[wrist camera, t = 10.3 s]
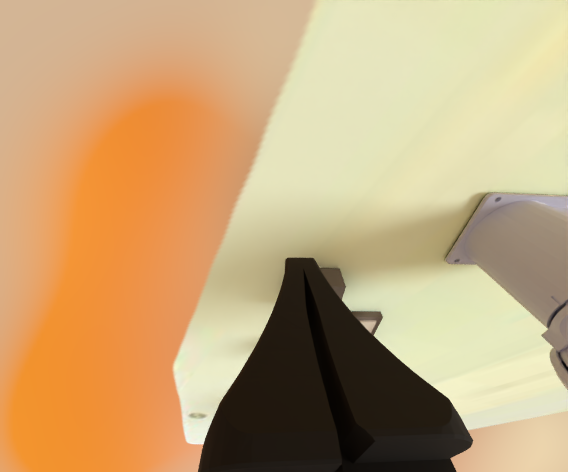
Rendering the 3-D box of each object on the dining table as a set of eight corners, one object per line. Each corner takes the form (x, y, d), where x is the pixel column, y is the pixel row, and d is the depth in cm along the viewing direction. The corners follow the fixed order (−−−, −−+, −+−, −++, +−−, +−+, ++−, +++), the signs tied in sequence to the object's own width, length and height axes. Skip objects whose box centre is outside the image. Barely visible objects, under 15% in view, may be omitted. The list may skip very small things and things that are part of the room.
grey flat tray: (380, 311, 29) (384, 321, 28) (362, 348, 34) (365, 357, 33) (288, 311, 28) (289, 321, 27) (284, 348, 33) (284, 358, 32)
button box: (339, 268, 24) (345, 286, 22) (331, 298, 27) (335, 317, 25) (293, 267, 24) (295, 286, 22) (290, 298, 26) (291, 317, 24)
